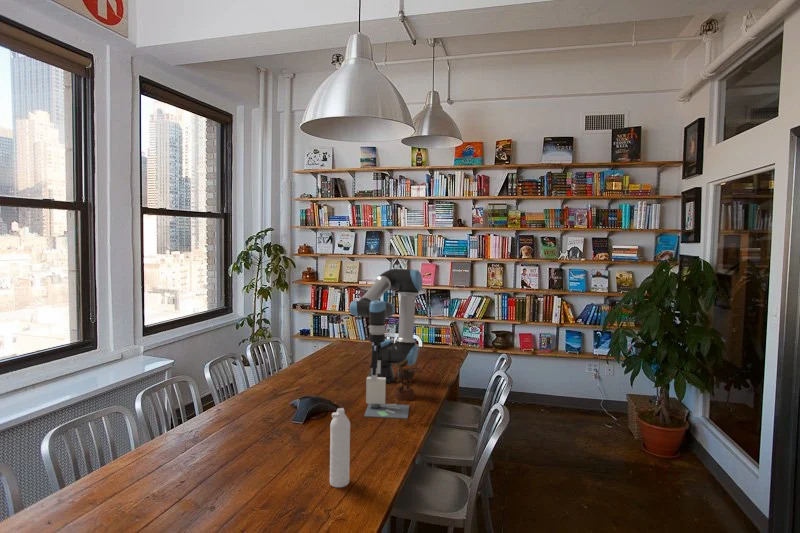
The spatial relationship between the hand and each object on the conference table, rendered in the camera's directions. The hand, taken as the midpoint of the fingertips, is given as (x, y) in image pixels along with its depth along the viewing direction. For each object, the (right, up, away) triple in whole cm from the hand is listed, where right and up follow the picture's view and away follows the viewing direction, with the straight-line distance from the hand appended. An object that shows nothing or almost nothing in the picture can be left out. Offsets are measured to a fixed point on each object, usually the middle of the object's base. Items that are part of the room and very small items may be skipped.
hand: (375, 377), depth 213 cm
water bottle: (-9, -19, -66) cm, 70 cm away
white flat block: (+3, -14, +1) cm, 15 cm away
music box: (+14, -15, +18) cm, 27 cm away
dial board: (+6, -15, -2) cm, 16 cm away
